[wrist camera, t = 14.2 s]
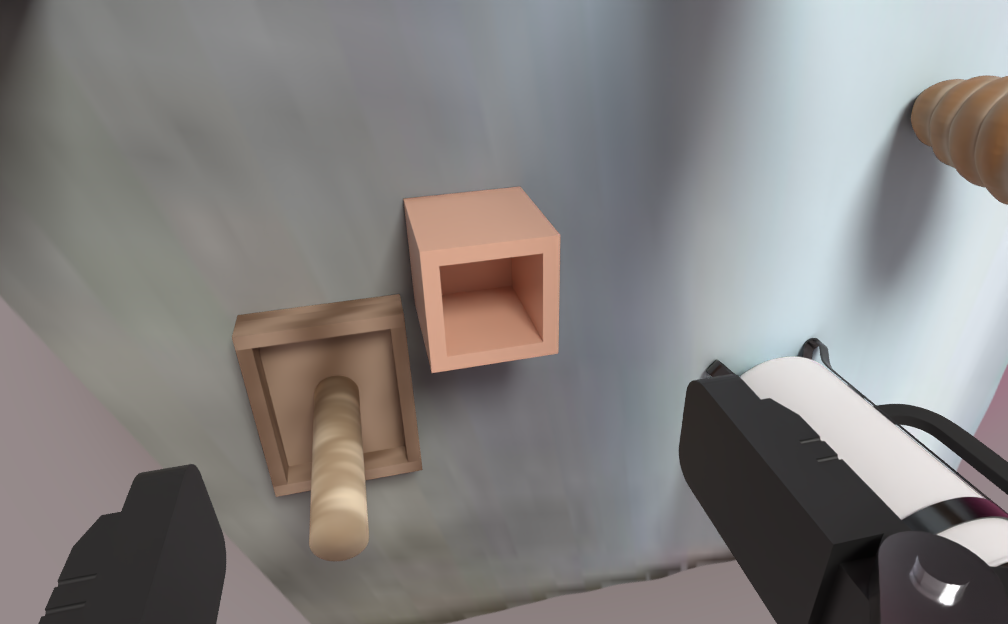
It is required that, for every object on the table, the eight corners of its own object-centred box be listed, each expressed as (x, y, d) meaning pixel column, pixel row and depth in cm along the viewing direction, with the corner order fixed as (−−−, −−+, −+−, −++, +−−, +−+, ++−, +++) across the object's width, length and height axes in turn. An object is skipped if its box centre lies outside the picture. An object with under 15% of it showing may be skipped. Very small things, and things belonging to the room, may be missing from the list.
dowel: (355, 372, 47) (364, 514, 35) (361, 407, 48) (372, 554, 37) (310, 379, 46) (304, 525, 34) (318, 414, 48) (314, 566, 36)
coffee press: (743, 486, 65) (1012, 829, 39) (651, 415, 57) (909, 784, 32) (880, 368, 61) (1273, 662, 36) (801, 275, 54) (1229, 566, 28)
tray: (399, 293, 46) (403, 313, 43) (417, 444, 53) (422, 469, 50) (237, 315, 44) (232, 337, 41) (278, 469, 51) (275, 496, 48)
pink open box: (520, 186, 44) (560, 235, 36) (521, 289, 48) (558, 353, 40) (403, 198, 43) (419, 251, 35) (414, 304, 47) (431, 372, 39)
